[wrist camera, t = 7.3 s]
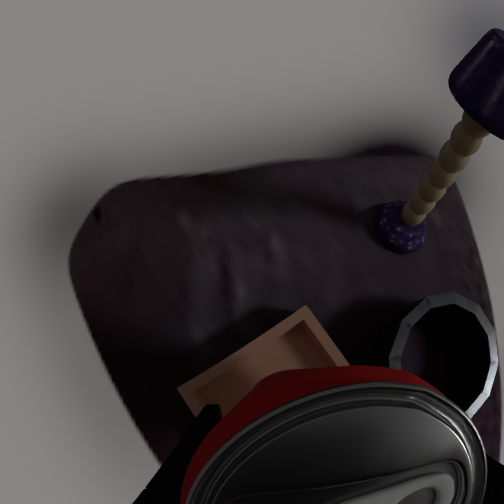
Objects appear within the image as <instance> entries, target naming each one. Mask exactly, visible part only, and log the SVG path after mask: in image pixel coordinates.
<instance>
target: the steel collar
mask: <svg viewBox="0 0 504 504" xmlns="http://www.w3.org/2000/svg"><path fill="white" fill-rule="evenodd" d="M423 315H431V316H433V317H435V318H437V319H439V320H441V321H443V322H446V323H448V325H449V326H450V328H451V329H452V331H453V332H454V334H455V335H456V337H457V339H458V340H459V342H460V347H461V355H462V365H463V367H462V371H461V374H460V377H459V380H458V383H457V386H456V389H455V391H454V392H453V393H452V395H451V396H450V397H449V398H448V399H449V400H451V401H452V402H454V403H455V404H456V405H457V406H459V407H460V408H461V409H462V410H463V411H464V412H465V413H466V414H467V415H468V417H469V418H471V417H472V416H473V415H474V414H475V413H476V411H477V410H478V409H479V408H480V407H481V405H482V404H483V403H484V402H485V400H486V399H487V398H488V396H489V394H490V391H491V387H492V384H493V381H494V377H495V373H496V370H497V366H498V356H497V347H496V339H495V331H494V329H493V327H492V326H491V324H490V322H489V321H488V319H487V317H486V316H485V314H484V312H483V311H482V309H481V308H480V306H479V305H478V304H476V303H474V302H472V301H471V300H469V299H467V298H465V297H463V296H461V295H459V294H457V293H455V292H452V293H446V294H441V295H435V296H429V297H425V298H423V299H421V300H419V301H417V302H415V303H414V304H412V305H410V306H408V307H406V308H404V309H402V310H401V311H400V312H399V313H398V314H397V315H396V316H395V317H394V318H392V319H391V320H390V321H389V322H388V323H387V324H386V325H385V326H383V327H382V328H381V329H380V332H379V334H378V337H377V340H376V342H375V345H374V347H373V350H372V352H371V355H370V357H369V360H368V361H369V366H379V367H387V368H393V369H399V370H401V362H400V358H401V355H402V352H403V349H404V346H405V343H406V341H407V338H408V335H409V332H410V329H411V327H412V326H413V325H414V324H415V323H416V322H417V321H418V320H419V319H420V318H421V317H422V316H423Z"/></svg>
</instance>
